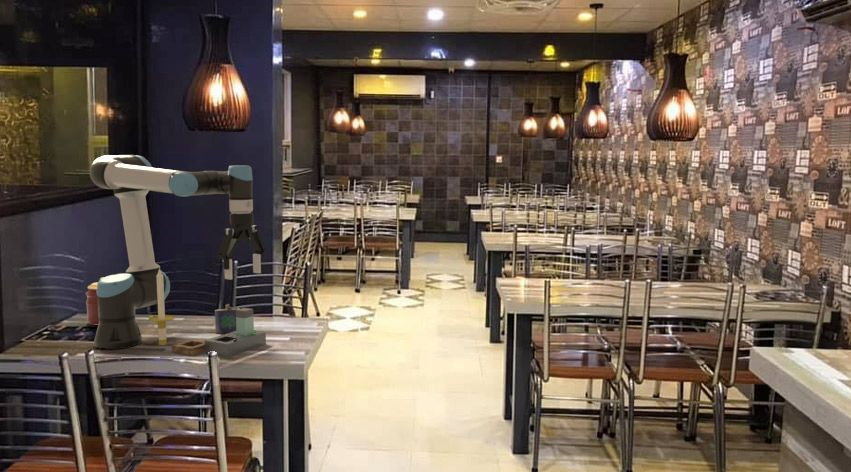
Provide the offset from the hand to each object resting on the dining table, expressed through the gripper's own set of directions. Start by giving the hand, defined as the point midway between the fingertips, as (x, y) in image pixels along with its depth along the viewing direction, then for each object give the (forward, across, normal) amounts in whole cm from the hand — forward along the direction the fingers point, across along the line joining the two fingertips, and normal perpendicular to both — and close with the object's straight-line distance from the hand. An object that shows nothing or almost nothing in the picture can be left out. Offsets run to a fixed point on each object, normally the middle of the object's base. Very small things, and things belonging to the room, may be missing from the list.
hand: (243, 276), depth 246 cm
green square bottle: (+23, 0, 0) cm, 23 cm away
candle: (+25, -12, +26) cm, 38 cm away
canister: (+25, +2, +73) cm, 77 cm away
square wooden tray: (+24, -13, +11) cm, 30 cm away
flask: (+25, +12, +19) cm, 33 cm away
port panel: (+24, -4, 0) cm, 25 cm away
